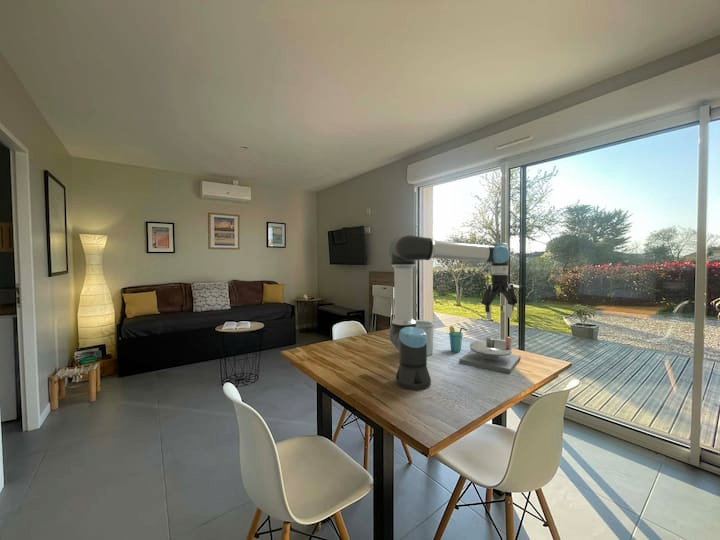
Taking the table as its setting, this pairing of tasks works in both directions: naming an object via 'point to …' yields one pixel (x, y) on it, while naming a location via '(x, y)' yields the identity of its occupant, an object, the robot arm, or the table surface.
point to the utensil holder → (427, 333)
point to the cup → (455, 339)
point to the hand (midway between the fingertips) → (499, 318)
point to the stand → (491, 361)
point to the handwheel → (492, 347)
